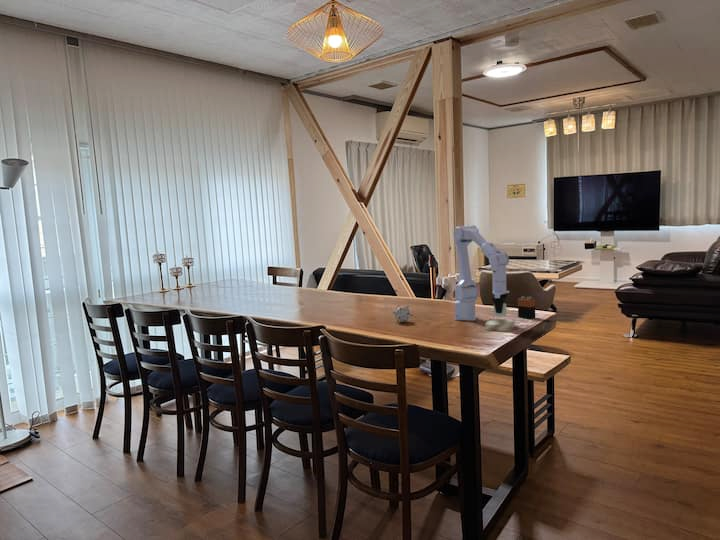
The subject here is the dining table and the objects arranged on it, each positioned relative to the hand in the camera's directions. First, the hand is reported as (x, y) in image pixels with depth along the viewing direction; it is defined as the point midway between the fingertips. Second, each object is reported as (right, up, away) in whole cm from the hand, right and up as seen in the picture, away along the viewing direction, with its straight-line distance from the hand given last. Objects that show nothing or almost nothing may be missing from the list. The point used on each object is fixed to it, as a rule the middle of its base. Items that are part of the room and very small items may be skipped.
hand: (499, 311), depth 218 cm
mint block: (0, -2, 0) cm, 2 cm away
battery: (+18, -5, +18) cm, 26 cm away
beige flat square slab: (0, -7, +1) cm, 8 cm away
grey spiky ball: (-40, -7, +21) cm, 46 cm away
